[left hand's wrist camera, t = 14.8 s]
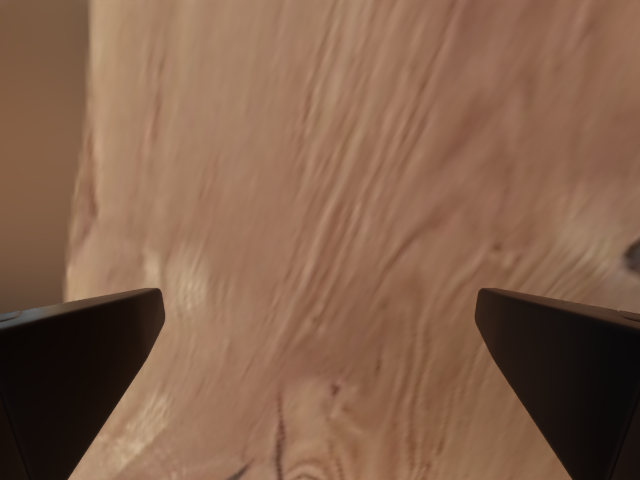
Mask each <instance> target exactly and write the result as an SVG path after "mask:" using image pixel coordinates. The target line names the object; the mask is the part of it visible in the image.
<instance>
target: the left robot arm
mask: <svg viewBox="0 0 640 480" xmlns="http://www.w3.org/2000/svg"><path fill="white" fill-rule="evenodd" d="M164 322H165V310H164V303H163V297H162V292H161V290H160V289H158V288H143V289H138V290H132V291H127V292H122V293H116V294H111V295H105V296H100V297H94V298H89V299H83V300H78V301H72V302H67V303H62V304H56V305H50V306H45V307H39V308H34V309H28V310H24V311H22V312H21V311H15V312H9V313H3V314H0V480H68V478H69V477H70V475H71V474H72V472H73V471H74V469H75V468H76V466H77V465H78V463H79V462H80V460H81V459H82V457H83V456H84V454H85V453H86V451H87V449H88V448H89V446H90V445H91V443H92V442H93V440H94V439H95V437H96V436H97V434H98V433H99V431H100V430H101V428H102V427H103V425H104V424H105V422H106V421H107V419H108V418H109V416H110V414H111V413H112V411H113V410H114V408H115V407H116V405H117V404H118V402H119V401H120V399H121V398H122V396H123V395H124V393H125V392H126V390H127V389H128V387H129V386H130V384H131V383H132V381H133V380H134V378H135V376H136V375H137V373H138V372H139V370H140V369H141V367H142V366H143V364H144V363H145V361H146V359H147V357H148V356H149V354H150V352H151V350H152V348H153V345H154V343H155V341H156V339H157V337H158V335H159V333H160V331H161V329H162V327H163V325H164ZM475 322H476V325H477V327H478V329H479V331H480V333H481V335H482V337H483V339H484V341H485V343H486V345H487V348H488V350H489V352H490V354H491V356H492V357H493V359H494V361H495V363H496V364H497V366H498V367H499V369H500V370H501V372H502V373H503V375H504V376H505V378H506V379H507V381H508V383H509V384H510V386H511V387H512V389H513V390H514V392H515V393H516V395H517V396H518V398H519V399H520V401H521V402H522V404H523V405H524V407H525V408H526V410H527V411H528V413H529V414H530V416H531V417H532V419H533V421H534V422H535V424H536V425H537V427H538V428H539V430H540V431H541V433H542V434H543V436H544V437H545V439H546V440H547V442H548V443H549V445H550V446H551V448H552V449H553V451H554V452H555V454H556V456H557V457H558V459H559V460H560V462H561V463H562V465H563V466H564V468H565V469H566V471H567V472H568V474H569V475H570V477H571V478H572V480H640V314H637V313H631V312H625V311H619V312H618V311H617V310H612V309H606V308H601V307H595V306H590V305H584V304H579V303H573V302H568V301H562V300H557V299H551V298H546V297H541V296H535V295H530V294H524V293H519V292H513V291H508V290H502V289H497V288H482V289H480V290H479V292H478V297H477V303H476V310H475Z"/></svg>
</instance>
